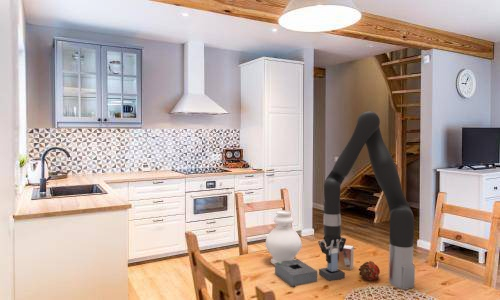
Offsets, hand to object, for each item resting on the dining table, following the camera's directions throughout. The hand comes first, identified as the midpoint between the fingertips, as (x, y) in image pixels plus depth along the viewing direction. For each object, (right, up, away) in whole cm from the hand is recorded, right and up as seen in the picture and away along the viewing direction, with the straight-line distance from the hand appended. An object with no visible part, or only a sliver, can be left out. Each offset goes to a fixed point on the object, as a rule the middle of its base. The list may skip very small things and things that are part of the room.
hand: (332, 261), depth 161 cm
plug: (0, -4, 0) cm, 4 cm away
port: (-16, -7, 0) cm, 18 cm away
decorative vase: (-20, -6, +20) cm, 29 cm away
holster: (0, -7, +1) cm, 7 cm away
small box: (+8, -7, +12) cm, 16 cm away
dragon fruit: (+16, -7, -1) cm, 17 cm away
